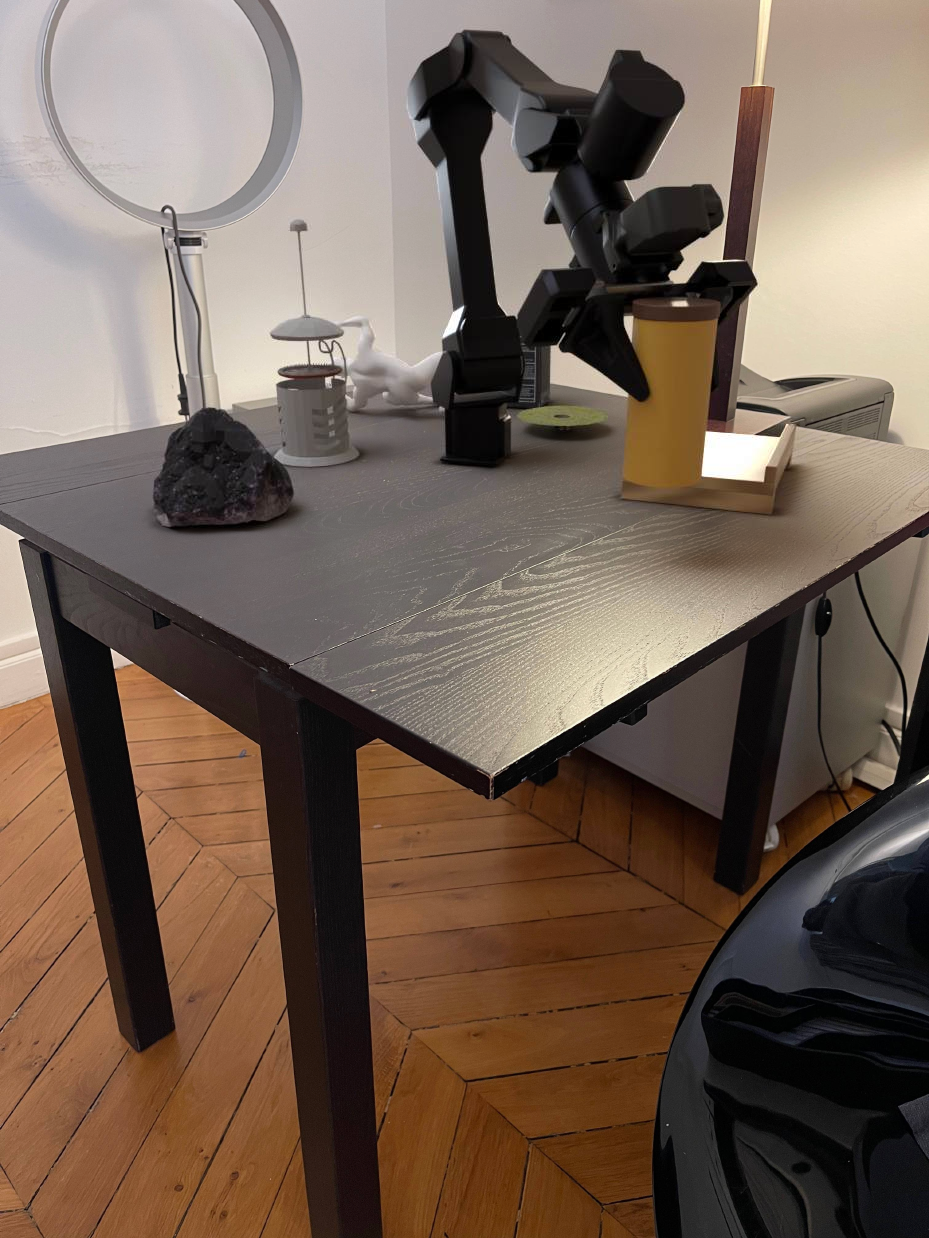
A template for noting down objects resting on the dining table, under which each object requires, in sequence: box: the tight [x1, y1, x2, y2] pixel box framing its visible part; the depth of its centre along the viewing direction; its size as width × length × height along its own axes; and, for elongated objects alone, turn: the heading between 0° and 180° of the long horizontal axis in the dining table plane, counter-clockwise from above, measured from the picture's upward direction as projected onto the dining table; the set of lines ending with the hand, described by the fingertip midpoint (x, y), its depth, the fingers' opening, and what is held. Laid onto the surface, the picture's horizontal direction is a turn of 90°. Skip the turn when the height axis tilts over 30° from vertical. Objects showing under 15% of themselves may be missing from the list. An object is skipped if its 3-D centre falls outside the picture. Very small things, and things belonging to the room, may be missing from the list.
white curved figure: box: [325, 315, 445, 414], centre depth 124 cm, size 13×13×18 cm
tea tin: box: [622, 297, 721, 488], centre depth 70 cm, size 6×6×13 cm
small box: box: [506, 335, 552, 409], centre depth 130 cm, size 11×6×10 cm, turn 71°
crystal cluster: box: [152, 406, 295, 528], centre depth 87 cm, size 13×14×10 cm
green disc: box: [516, 405, 609, 431], centre depth 116 cm, size 11×11×2 cm
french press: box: [269, 218, 360, 468], centre depth 102 cm, size 10×12×25 cm
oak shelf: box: [620, 423, 797, 515], centre depth 94 cm, size 14×18×4 cm
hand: (680, 394), depth 68 cm, fingers closed on tea tin, 6 cm apart
